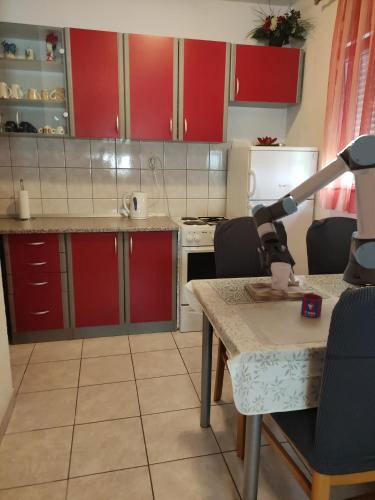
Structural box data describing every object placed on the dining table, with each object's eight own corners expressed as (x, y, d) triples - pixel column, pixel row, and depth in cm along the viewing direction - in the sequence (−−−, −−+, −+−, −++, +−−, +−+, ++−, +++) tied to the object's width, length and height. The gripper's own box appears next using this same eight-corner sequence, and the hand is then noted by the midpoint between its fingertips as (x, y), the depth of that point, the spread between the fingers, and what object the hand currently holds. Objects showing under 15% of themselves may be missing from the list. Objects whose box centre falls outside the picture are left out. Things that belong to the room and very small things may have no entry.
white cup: (287, 285, 156) (289, 262, 153) (290, 291, 148) (292, 267, 146) (268, 284, 157) (270, 261, 154) (270, 290, 149) (272, 267, 147)
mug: (299, 316, 128) (301, 298, 127) (304, 306, 137) (305, 289, 135) (319, 320, 125) (321, 301, 124) (322, 310, 134) (324, 292, 133)
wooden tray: (297, 285, 161) (297, 279, 161) (313, 299, 145) (314, 293, 144) (244, 286, 159) (244, 280, 158) (255, 300, 143) (255, 294, 142)
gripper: (285, 239, 165) (302, 284, 154) (243, 241, 160) (258, 288, 149) (292, 230, 159) (310, 276, 148) (249, 231, 154) (265, 279, 142)
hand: (284, 282), depth 148 cm, fingers closed on white cup, 8 cm apart
